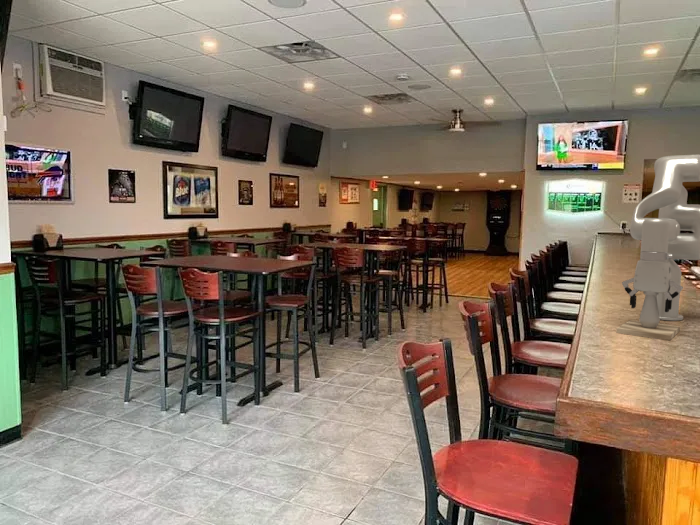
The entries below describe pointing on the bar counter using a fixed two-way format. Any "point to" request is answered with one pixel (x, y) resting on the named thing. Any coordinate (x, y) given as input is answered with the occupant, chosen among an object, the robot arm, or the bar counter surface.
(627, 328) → the serving board
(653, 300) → the salt shaker
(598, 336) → the bar counter surface
